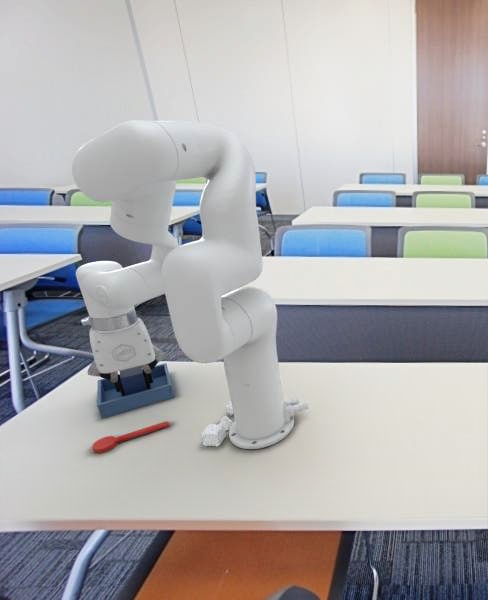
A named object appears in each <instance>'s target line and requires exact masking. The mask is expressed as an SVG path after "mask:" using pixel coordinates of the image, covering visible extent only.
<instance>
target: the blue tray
mask: <svg viewBox="0 0 488 600" xmlns="http://www.w3.org/2000/svg"><path fill="white" fill-rule="evenodd" d="M151 375H152V379H153V383H151V384H150V386H151V389H148V390H146V391H143V392H139V393H135V394H132V395H128V396H126V395H125V396H122V395H121V392H117V391H116V388H115V385H114V383H113V382H111V381H110V380H107V379H104V378H101V379H98V380H97V394H96V395H97V396H96V399H97V400H96V406H97V408H98V409H97V410H98V412H99V415H100V417H101V419H105V418H109V417H112V416H116V415H119V414H122V413H125V412H129V411H133V410H136V409H140V408H142V407H146V406H149V405H152V404H156V403H159V402H163V401H166V400H170V399H173V398H176V396H175V391H174V388H173V383H172V379H171V375H170V371H169V368H168V364H167V362H165V363H161V364H157V365H156V366H155V367H154V368H153V369H152V371H151Z"/></svg>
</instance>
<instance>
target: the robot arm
mask: <svg viewBox="0 0 488 600" xmlns="http://www.w3.org/2000/svg"><path fill="white" fill-rule="evenodd" d="M71 174H72V178H73V181H74V183H75V185H76V188H78V189H79V191H80V192H81V193H82V194H83V195H84V196H85V197H87V198H89V199H90V200H92V201H95V202H99V203H111V208H110V217H109V225H110V227H111V229H112V231H114V232H115V233H116V234H117V235H119V236H120V237H121V238H124V239H126V240H128V241H132V242H136V243H140V244H144V245H145V244H146V245H152V248H151V249H152V250H151V254H150V258H149V260H147V261H143V262H140V263H136V264H132V265H128V266H126V267H123V266H122V264H120V263H119V262H116V261H111V260H100V261H92V262H88V263H85V264H82V265H80V266H79V267H77V269H76V270H75V277H76V280H77V284H78V286H79V289H80V293H81V295H82V298H83V302H84V304H85V307H86V311H87V313H88V316H87V317H85V318H83V319H80V322H81V325H82V326H83V327H85V326H90V329H89V333H88V334H89V336H88V337H89V344H90V347H91V352H92V356H93V360H92V362H91V364H90V365H89V367H88V369H87V375H88V376H91V377H99V378H101V379H107V380H110V381H111V382H113V383H114V385H115V388H116V391H117V392H121V395H122V396H125V392H124V389H123V386H122V383H121V380H120V373H119V372H120V371H121V370H125V369H129V368H133V367H137V366H141V367H142V369H143V376H144V379H145V383H146V386H147V389H151V386H150V384H151V383H153V379H152V375H151V371H152V369H153V368H154V367H155V366H156V365H158V363H159V362H161V361H162V360H164V359H165V358H166V357H167V356H166V352H165V351H163V350H161V349H160V348H159V347H157V346H155V345H154V344H153V341H152V339H151V336H150V334H149V331H148V329H147V327H146V325H145V323H144V321H143V320H142V319H141V318H140V317H138V315H137V312H136V308H135V306H138V305H139V304H143V303H145V302H146V301H149V300H152V299H154V298H158V297H160V296H162V295H163V296H164V295H165V299H166V303H167V309H168V313H169V317H170V322H171V326H172V329H173V330H172V331H173V334H174V337H175V340H176V342H177V344H178V346H179V348H180V350H181V351H182V352H183V354H184V355H185V356H186V357H187V358H188V359H190V360H191V361H193V362H196V363H199V364H211V363H215V362H218V361H220V360H222V359H223V368H224V373H225V378H226V384H227V387H228V392H229V397H230V401H231V403H232V408H233V413H234V414H233V417H234V421H232V422H233V423H232V424H231V426H230V428H229V430H228V437H229V441H230V443H232V445H234V446H235V447H237V448H240V449H243V450H257V449H259V450H260V449H263V448H267V447H270V446H273V445H275V444H277V443H278V442H280V441H282V440H283V439H285V438H286V437H287V436H288V435H289V434H290V433H291V432H292V430H293V429H294V425H295V417H294V416H295V414H297V413H302V412H303V411H306V410H308V409H309V404H308V402H307V400H303V401H301V402H299V399H298V398H297V397H295V398H293V399H290V400H288V401H287V400H284V394H283V386H282V379H281V372H280V366H279V357H278V351H277V350H278V348H277V327H278V309H277V305H276V303H275V301H274V299H273V298H272V296H271V295H270V293H268V292H267V291H265V290H264V289H262V288H259V287H256V286H246V285H248V284H250V283H253V282H254V281H255V280H257V279H258V278H259V277H260V276H261V275H262V272H263V265H264V263H263V262H264V261H263V253H262V252H263V251H262V244H261V234H260V226H259V219H258V218H259V217H258V213H257V196H256V194H257V176H256V167H255V163H254V160H253V156H252V154H251V153H250V150H249V149H248V147H247V145H246V144H245V142H244V141H243V140H242V139H241V138H240V137H239V136H238V135H236V134H235V133H234V132H232V131H231V130H229V129H227V128H225V127H223V126H220V125H217V124H213V123H208V122H201V121H190V120H189V121H188V120H154V119H137V120H136V119H135V120H127V121H124V122H121V123H119V124H116V125H115V126H113V127H111V128H110V129H108V130H106V131H104V132H102V133H100V134H99V135H97V136H96V137H94V138H92V139H90V140H88V141H87V142H86V143H84V144H83V145H82V146H81V147H79V149H78V150H77V151H76V153H75V154H74V156H73V159H72V163H71ZM197 178H199V179H200V178H205V179H206V181H207V183H206V184H205V186H204V188H203V190H202V193H201V197H200V199H199V200H200V201H199V207H198V208H199V210H198V211H199V212H198V213H199V217H200V222H201V231H202V232H201V233H202V234H201V238H200V239H198V240H194V241H191V242H187V243H184V244H181V245H180V244H179V242H178V240H177V239H176V238H175V236H174V235H173V234H172V233H171V232H170V231H169V227H170V221H171V215H172V211H173V205H174V199H175V195H176V194H175V193H176V190H177V189H176V188H177V183H178V181H182V180H191V179H197ZM244 286H245V287H244Z"/></svg>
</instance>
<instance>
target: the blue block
mask: <svg viewBox="0 0 488 600" xmlns="http://www.w3.org/2000/svg"><path fill="white" fill-rule="evenodd" d="M119 375H120V380H121V383H122V386H123V389H124V392H125V395H126V396H128V395H132V394H135V393H139V392H143V391H146V390H148V389H147V386H146V383H145V379H144V376H143V368H142V367H141V366H137V367H133V368H129V369H125V370H121V371H119Z"/></svg>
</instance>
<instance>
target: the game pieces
mask: <svg viewBox="0 0 488 600" xmlns="http://www.w3.org/2000/svg"><path fill="white" fill-rule="evenodd" d="M224 407H225V410H226V413H228V414H229V416H230V417H232V416H233V415H234V413H233V408H232V403H231V400H228V403H227V404H226V405H224ZM233 422H234V421H232V420H231V419H230V418H229V417H228V416H227V415H223V416H222V417H221V419H220V422H219V423H217V424H216V423H209V424H207V425H206V427H205V429H203V431H202V432H201V434H200V437H201V439H202V445H203V446H205V447H211V446H212V447H220V446H221V444H222V443H223V441H224V440H225V439H226V437H227V433H226V431H229V428H230V426H231V424H232V423H233Z"/></svg>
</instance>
